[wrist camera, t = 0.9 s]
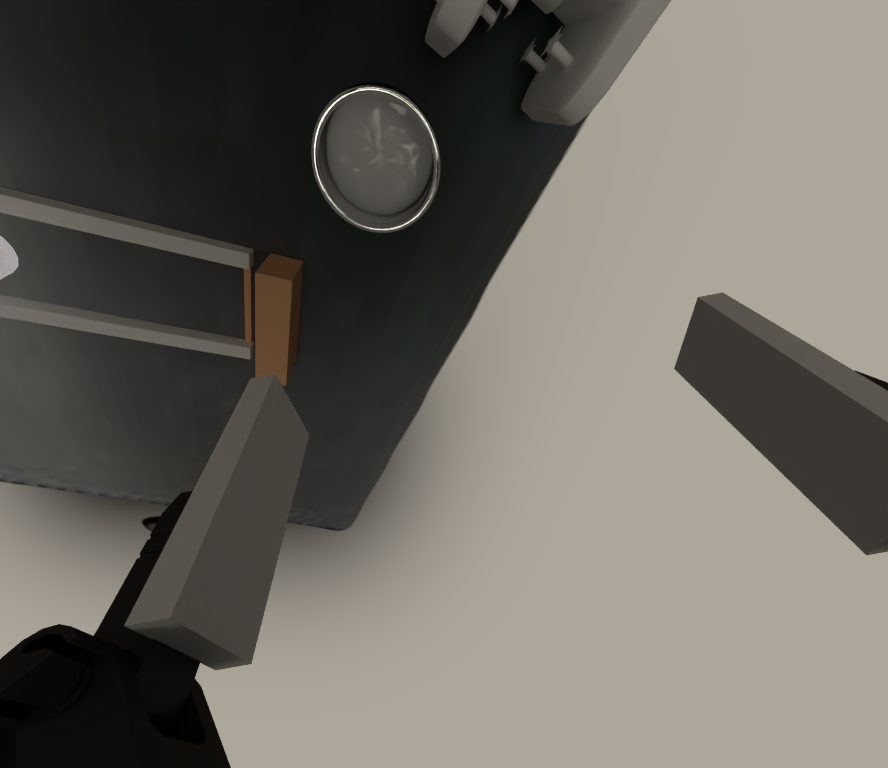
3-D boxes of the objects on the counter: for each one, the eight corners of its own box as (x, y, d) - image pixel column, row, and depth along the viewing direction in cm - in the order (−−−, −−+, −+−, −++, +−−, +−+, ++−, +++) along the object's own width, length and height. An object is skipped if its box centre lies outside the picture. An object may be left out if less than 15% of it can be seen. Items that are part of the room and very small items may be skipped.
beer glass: (436, 110, 29) (465, 117, 18) (411, 199, 33) (420, 253, 21) (350, 70, 27) (317, 47, 16) (334, 170, 31) (298, 212, 19)
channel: (-43, 299, 34) (-99, 325, 30) (-117, 158, 27) (-202, 167, 24) (296, 359, 42) (286, 385, 38) (303, 261, 35) (292, 281, 32)
